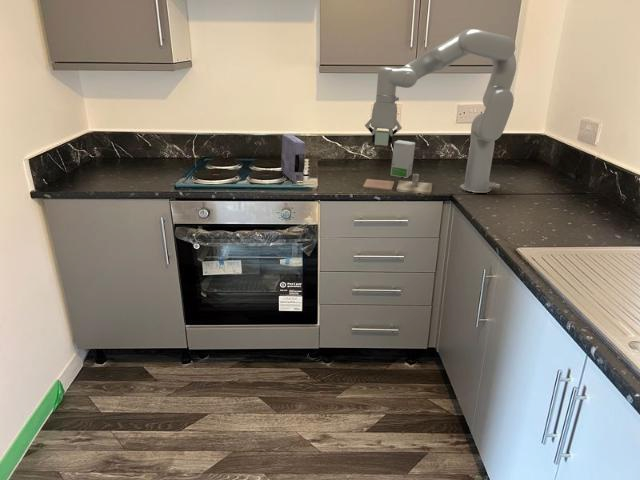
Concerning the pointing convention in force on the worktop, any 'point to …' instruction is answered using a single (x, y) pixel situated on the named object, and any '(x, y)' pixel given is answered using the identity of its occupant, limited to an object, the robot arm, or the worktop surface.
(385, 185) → the terracotta tile
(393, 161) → the skincare box
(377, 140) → the grey green cube
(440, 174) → the worktop surface
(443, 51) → the robot arm
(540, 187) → the worktop surface
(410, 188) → the post stand
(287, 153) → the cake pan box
